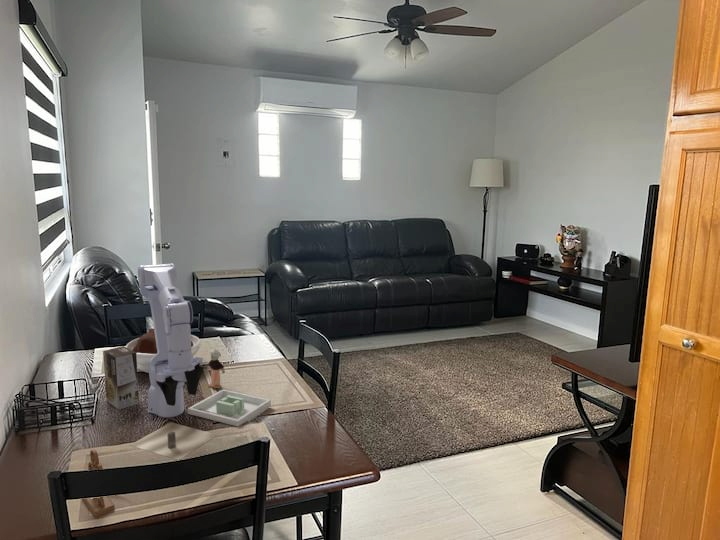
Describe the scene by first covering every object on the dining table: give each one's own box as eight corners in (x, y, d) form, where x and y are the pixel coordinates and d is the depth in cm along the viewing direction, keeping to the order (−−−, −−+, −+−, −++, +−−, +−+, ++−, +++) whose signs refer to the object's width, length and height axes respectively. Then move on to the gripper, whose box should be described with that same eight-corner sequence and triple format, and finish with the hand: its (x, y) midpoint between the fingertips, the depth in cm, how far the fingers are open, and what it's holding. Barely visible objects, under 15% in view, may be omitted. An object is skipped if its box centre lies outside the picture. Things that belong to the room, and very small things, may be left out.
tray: (187, 416, 149) (187, 408, 148) (223, 396, 163) (223, 389, 162) (238, 429, 142) (237, 421, 141) (270, 407, 156) (270, 399, 155)
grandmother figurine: (202, 387, 170) (201, 349, 168) (210, 383, 174) (208, 346, 171) (222, 391, 167) (221, 353, 165) (229, 386, 171) (228, 349, 169)
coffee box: (140, 403, 157) (137, 352, 154) (118, 410, 152) (115, 357, 149) (127, 395, 163) (124, 345, 160) (105, 401, 158) (102, 350, 156)
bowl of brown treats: (216, 365, 190) (215, 325, 187) (157, 387, 169) (154, 343, 166) (171, 352, 203) (169, 315, 200) (111, 371, 182) (108, 330, 179)
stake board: (129, 448, 131) (128, 431, 130) (171, 425, 143) (170, 409, 142) (178, 464, 124) (178, 446, 123) (217, 438, 137) (217, 421, 136)
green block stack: (216, 412, 151) (216, 402, 150) (228, 405, 156) (228, 395, 155) (236, 417, 148) (236, 406, 147) (248, 409, 153) (248, 399, 152)
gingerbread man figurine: (81, 497, 111) (77, 445, 109) (100, 490, 113) (97, 439, 111) (94, 517, 104) (90, 462, 102) (115, 509, 107) (111, 455, 105)
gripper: (170, 359, 125) (173, 412, 127) (211, 343, 138) (212, 392, 140) (148, 355, 128) (151, 407, 130) (190, 340, 141) (192, 387, 143)
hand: (181, 399), depth 136 cm, fingers open, 7 cm apart
